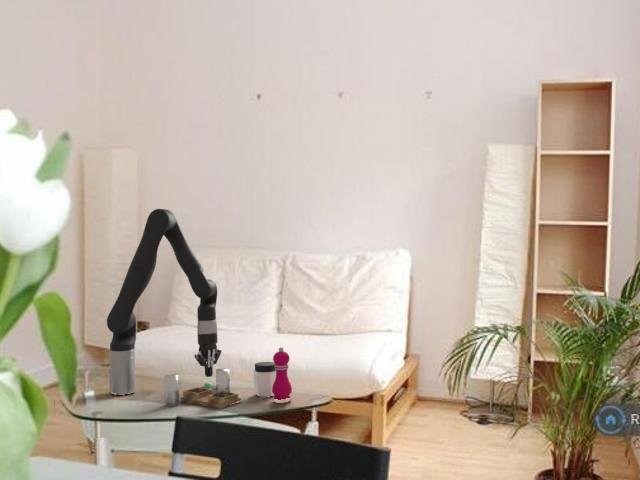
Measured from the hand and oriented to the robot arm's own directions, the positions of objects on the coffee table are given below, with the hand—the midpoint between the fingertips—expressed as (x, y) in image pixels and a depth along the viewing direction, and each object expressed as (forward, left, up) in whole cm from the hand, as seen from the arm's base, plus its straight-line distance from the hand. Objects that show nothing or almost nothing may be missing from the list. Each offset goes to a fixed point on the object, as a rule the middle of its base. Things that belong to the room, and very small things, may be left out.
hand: (208, 376), depth 275 cm
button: (0, 0, -6) cm, 6 cm away
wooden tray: (+9, -9, -7) cm, 14 cm away
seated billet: (+16, -9, -5) cm, 19 cm away
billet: (+1, -20, -7) cm, 21 cm away
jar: (+20, +10, -7) cm, 23 cm away
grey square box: (0, 0, -7) cm, 7 cm away
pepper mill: (+32, +5, -7) cm, 33 cm away
